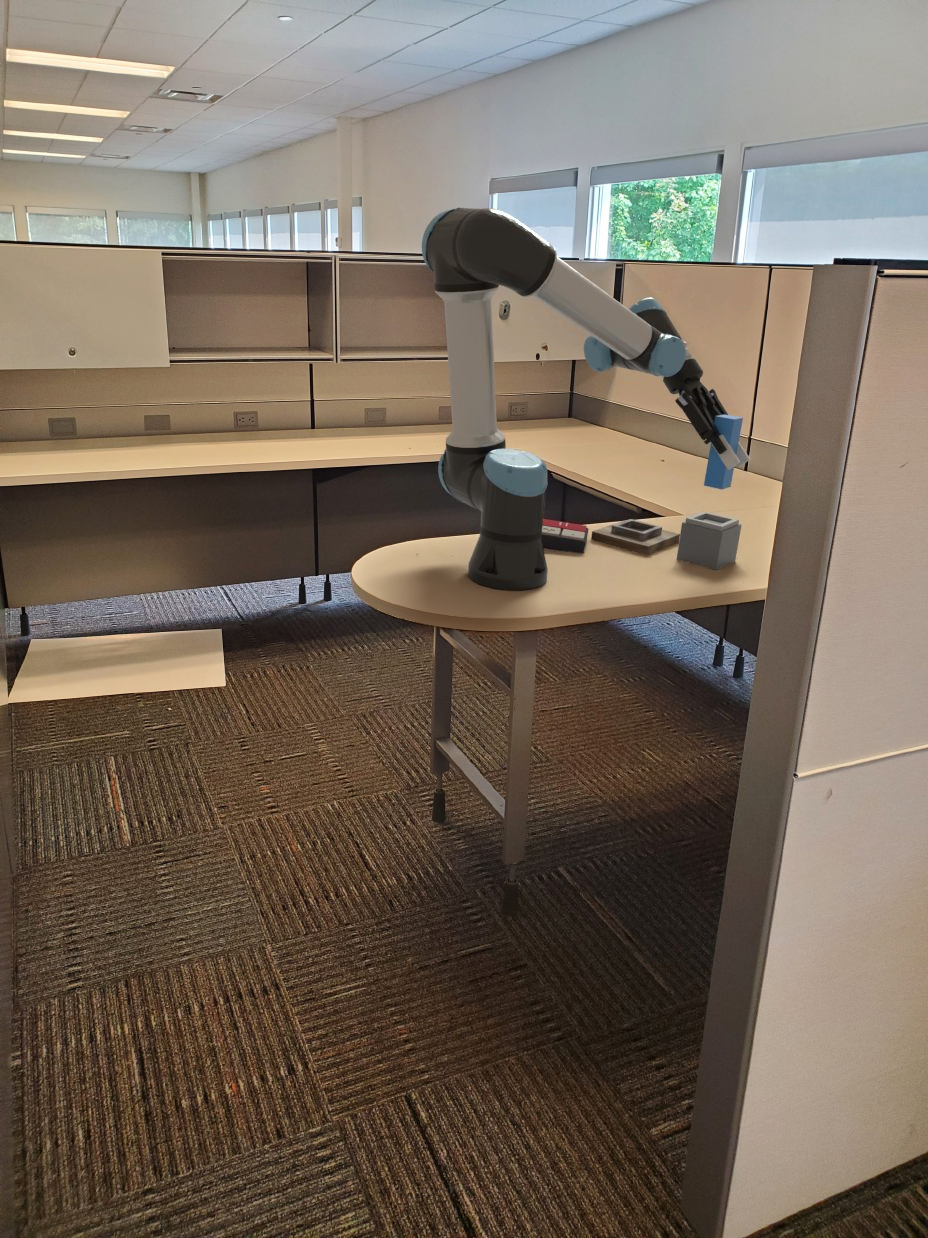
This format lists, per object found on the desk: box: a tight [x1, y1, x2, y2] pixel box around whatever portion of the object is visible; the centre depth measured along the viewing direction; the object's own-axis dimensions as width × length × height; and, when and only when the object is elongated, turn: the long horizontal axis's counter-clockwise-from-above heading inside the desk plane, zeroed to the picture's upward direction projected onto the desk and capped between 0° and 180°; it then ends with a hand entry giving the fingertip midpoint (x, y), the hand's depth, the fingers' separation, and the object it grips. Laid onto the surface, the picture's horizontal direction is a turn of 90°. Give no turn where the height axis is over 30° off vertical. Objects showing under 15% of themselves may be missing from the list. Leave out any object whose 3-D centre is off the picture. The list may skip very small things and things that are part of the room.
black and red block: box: [541, 518, 589, 554], centre depth 202 cm, size 11×4×15 cm
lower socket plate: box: [590, 518, 680, 556], centre depth 206 cm, size 14×14×4 cm
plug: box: [703, 414, 744, 490], centre depth 188 cm, size 4×4×14 cm
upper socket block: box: [676, 511, 742, 571], centre depth 195 cm, size 9×9×9 cm
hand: (739, 464), depth 186 cm, fingers closed on plug, 4 cm apart
